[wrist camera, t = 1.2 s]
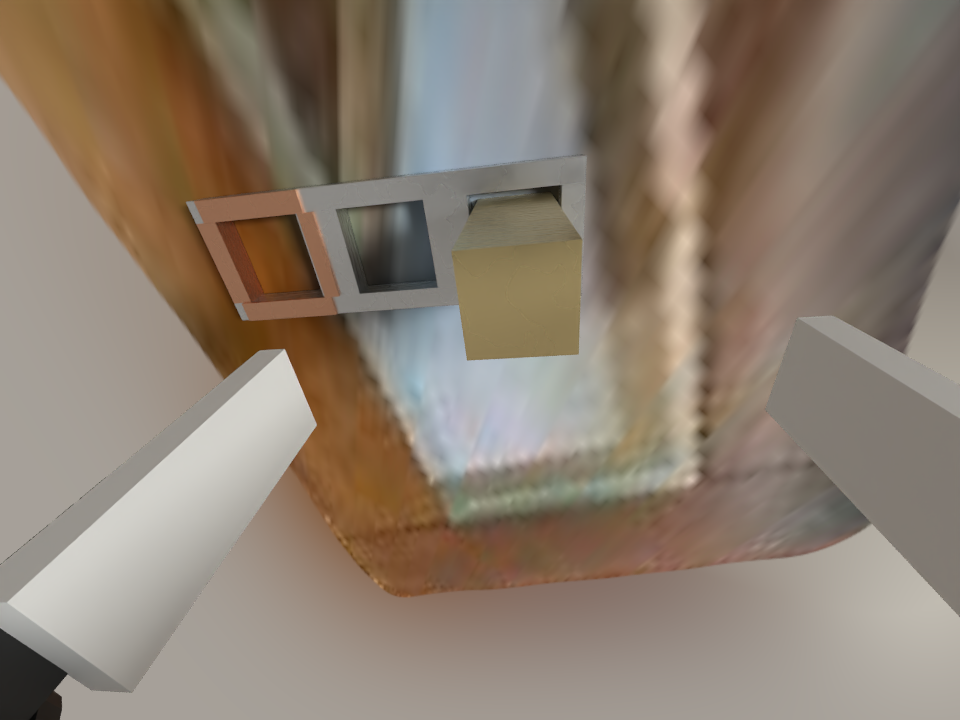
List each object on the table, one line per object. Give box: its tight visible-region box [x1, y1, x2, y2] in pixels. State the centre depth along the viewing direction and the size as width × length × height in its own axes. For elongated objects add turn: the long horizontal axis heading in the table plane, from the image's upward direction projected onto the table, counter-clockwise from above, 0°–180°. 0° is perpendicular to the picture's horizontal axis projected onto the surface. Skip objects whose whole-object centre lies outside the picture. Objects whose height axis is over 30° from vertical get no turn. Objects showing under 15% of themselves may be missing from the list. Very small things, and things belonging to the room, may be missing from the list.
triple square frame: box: [186, 154, 587, 321], centre depth 24 cm, size 8×24×2 cm, turn 96°
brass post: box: [451, 192, 582, 360], centre depth 19 cm, size 4×4×12 cm
